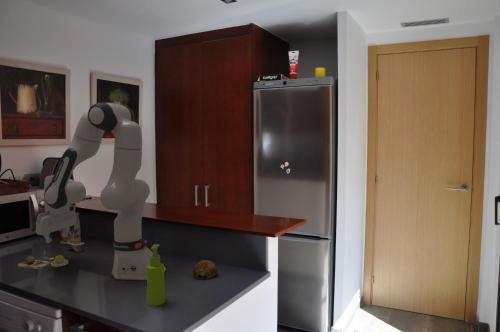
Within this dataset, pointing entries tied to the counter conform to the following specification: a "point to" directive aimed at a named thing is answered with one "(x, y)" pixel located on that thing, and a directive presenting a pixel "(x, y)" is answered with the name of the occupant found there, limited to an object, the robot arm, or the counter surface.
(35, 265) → the twin rack
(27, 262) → the walnut ball
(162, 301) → the soap dispenser
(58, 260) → the mustard ball
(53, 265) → the white bowl
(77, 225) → the coffee box
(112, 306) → the counter surface
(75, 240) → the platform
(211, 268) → the bread roll
